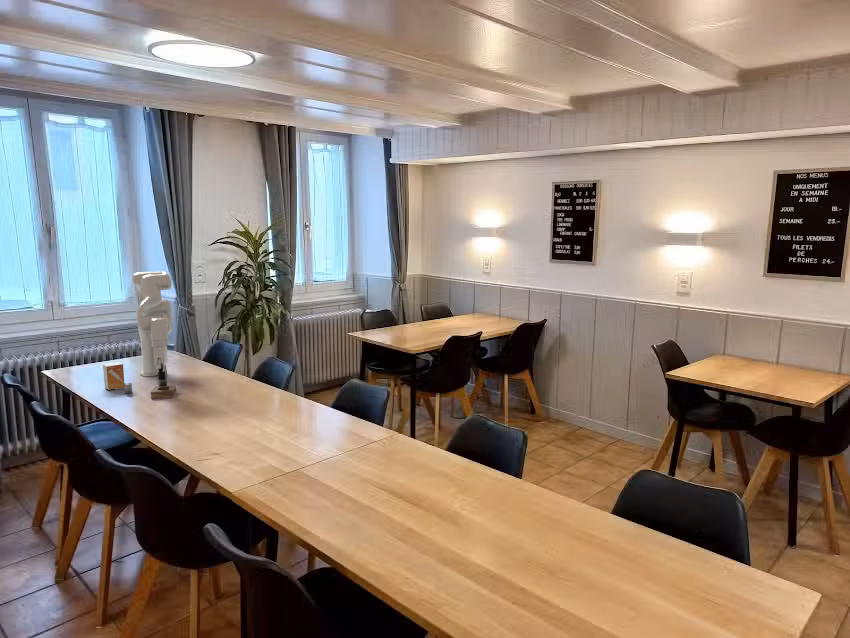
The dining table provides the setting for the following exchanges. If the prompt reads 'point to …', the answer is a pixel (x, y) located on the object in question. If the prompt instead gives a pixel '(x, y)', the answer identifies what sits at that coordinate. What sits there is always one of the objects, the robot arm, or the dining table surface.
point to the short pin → (128, 388)
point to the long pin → (163, 382)
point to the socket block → (163, 392)
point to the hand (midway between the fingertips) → (162, 378)
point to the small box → (113, 375)
